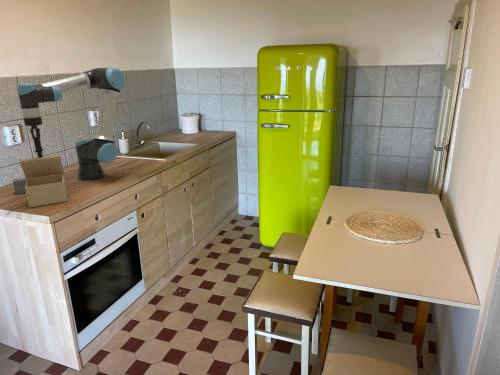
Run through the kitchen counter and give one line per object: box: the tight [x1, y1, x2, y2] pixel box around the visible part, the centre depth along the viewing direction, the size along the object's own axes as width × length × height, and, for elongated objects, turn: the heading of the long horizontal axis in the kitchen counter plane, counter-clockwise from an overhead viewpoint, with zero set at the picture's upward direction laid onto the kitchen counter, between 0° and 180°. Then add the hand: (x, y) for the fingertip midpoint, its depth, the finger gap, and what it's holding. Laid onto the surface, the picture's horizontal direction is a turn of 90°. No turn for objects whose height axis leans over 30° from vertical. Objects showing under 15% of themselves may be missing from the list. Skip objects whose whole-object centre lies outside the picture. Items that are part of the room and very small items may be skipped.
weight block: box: [12, 177, 31, 195], centre depth 203 cm, size 8×5×7 cm, turn 117°
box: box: [25, 174, 69, 208], centre depth 189 cm, size 17×16×10 cm
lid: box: [19, 155, 65, 179], centre depth 188 cm, size 17×16×1 cm
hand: (42, 164), depth 187 cm, fingers closed
